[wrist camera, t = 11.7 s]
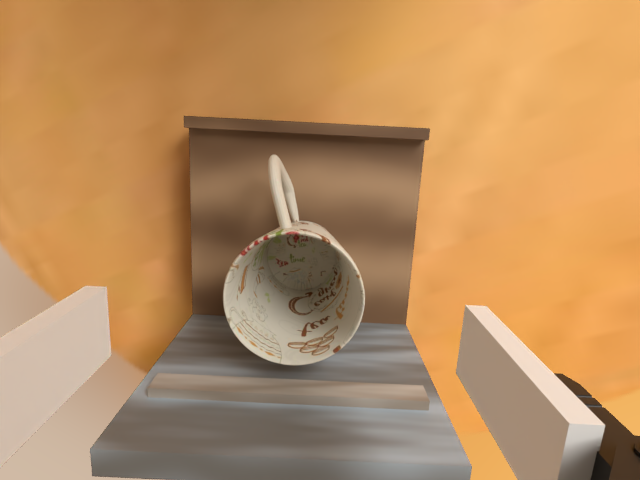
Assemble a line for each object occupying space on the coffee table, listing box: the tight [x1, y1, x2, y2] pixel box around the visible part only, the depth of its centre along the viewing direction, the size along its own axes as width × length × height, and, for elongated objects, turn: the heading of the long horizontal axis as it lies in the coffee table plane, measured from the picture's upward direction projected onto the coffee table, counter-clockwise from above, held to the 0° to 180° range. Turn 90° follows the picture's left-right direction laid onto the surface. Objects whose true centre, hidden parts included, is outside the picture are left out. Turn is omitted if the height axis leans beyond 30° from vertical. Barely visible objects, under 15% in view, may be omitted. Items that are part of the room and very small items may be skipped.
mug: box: [223, 155, 365, 365], centre depth 29 cm, size 8×13×10 cm, turn 14°
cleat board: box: [90, 116, 472, 480], centre depth 28 cm, size 18×18×20 cm
